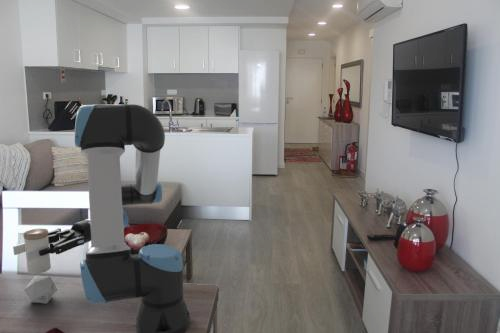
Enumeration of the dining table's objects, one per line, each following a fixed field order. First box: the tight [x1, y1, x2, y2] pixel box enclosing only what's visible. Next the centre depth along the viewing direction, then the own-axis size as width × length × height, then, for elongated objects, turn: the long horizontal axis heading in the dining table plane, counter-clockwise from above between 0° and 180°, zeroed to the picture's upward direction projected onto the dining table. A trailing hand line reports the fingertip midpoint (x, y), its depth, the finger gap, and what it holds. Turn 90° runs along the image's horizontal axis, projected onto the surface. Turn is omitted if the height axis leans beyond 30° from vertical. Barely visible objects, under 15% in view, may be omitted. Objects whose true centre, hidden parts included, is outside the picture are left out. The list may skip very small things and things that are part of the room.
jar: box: [22, 228, 52, 275], centre depth 129 cm, size 7×7×12 cm
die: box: [23, 275, 58, 305], centre depth 132 cm, size 8×9×10 cm
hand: (20, 253), depth 125 cm, fingers closed on jar, 6 cm apart
